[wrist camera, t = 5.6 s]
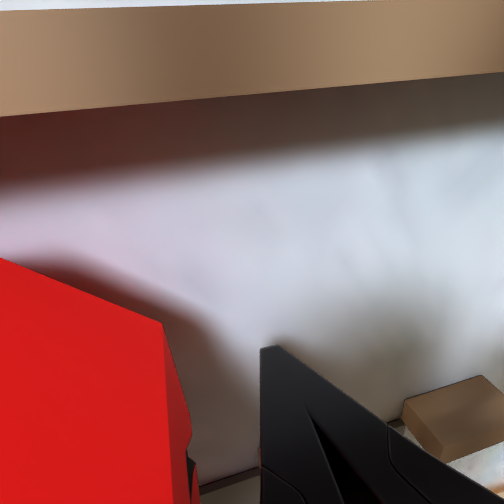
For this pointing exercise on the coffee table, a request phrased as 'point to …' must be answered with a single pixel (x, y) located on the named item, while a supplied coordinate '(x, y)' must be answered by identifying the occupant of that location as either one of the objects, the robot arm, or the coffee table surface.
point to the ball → (87, 400)
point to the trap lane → (254, 82)
